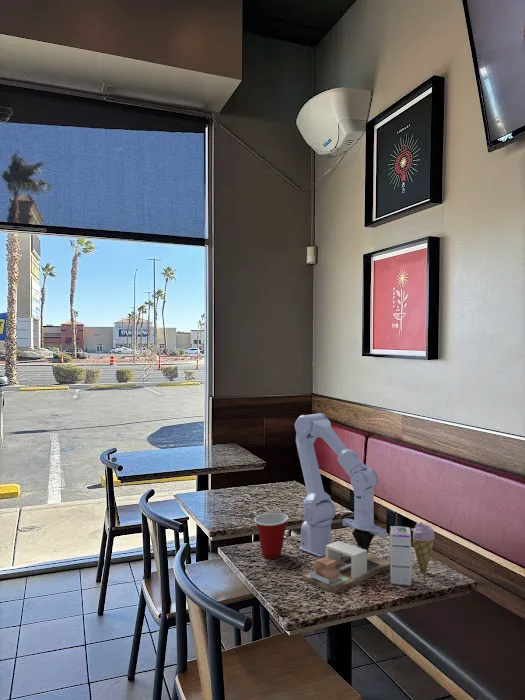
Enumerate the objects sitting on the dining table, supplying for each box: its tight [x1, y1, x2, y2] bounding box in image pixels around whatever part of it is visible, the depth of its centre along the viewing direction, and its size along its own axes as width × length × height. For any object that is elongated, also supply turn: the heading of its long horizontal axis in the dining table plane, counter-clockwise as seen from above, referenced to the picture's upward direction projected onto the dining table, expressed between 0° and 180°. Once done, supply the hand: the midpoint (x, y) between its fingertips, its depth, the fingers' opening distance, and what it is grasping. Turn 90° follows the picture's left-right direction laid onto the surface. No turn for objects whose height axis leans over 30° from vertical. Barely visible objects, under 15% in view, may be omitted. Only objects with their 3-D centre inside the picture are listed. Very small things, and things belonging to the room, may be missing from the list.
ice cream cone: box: [410, 521, 436, 574], centre depth 157 cm, size 7×6×15 cm
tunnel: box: [324, 540, 368, 578], centre depth 155 cm, size 10×6×6 cm, turn 43°
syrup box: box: [389, 525, 412, 586], centre depth 151 cm, size 6×6×14 cm
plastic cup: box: [253, 512, 289, 559], centre depth 169 cm, size 11×11×12 cm
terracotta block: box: [315, 556, 336, 579], centre depth 149 cm, size 4×4×4 cm
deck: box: [301, 553, 390, 594], centre depth 156 cm, size 12×27×1 cm, turn 133°
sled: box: [309, 543, 361, 584], centre depth 154 cm, size 7×18×5 cm, turn 133°
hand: (363, 554), depth 161 cm, fingers closed, pressing on sled
